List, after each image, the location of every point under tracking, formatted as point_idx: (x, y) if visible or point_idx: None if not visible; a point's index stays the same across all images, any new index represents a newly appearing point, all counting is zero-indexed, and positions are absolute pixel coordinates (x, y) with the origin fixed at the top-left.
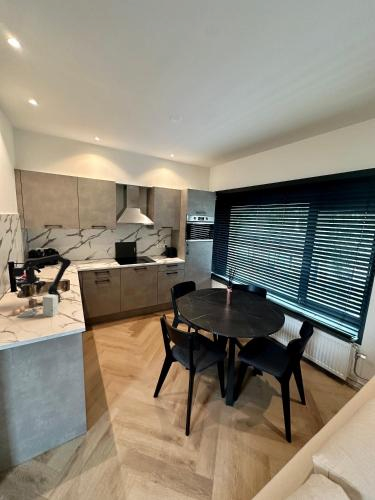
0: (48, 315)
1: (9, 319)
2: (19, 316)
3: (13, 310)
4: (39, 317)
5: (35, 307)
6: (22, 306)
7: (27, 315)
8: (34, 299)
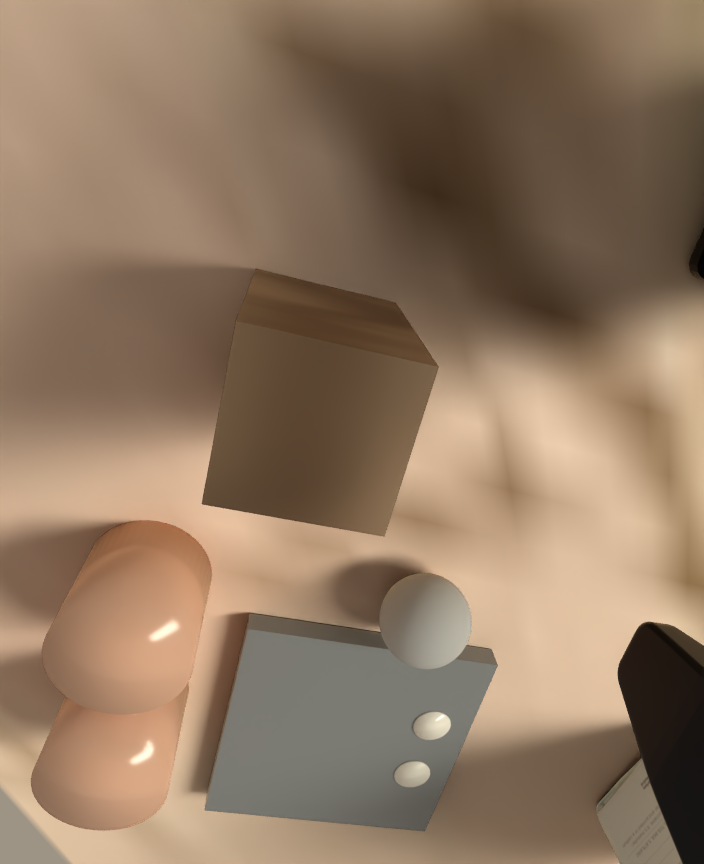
0: None
1: None
2: (241, 809)
3: (62, 813)
4: (546, 831)
5: (453, 656)
6: (151, 649)
7: (361, 799)
8: (373, 414)
